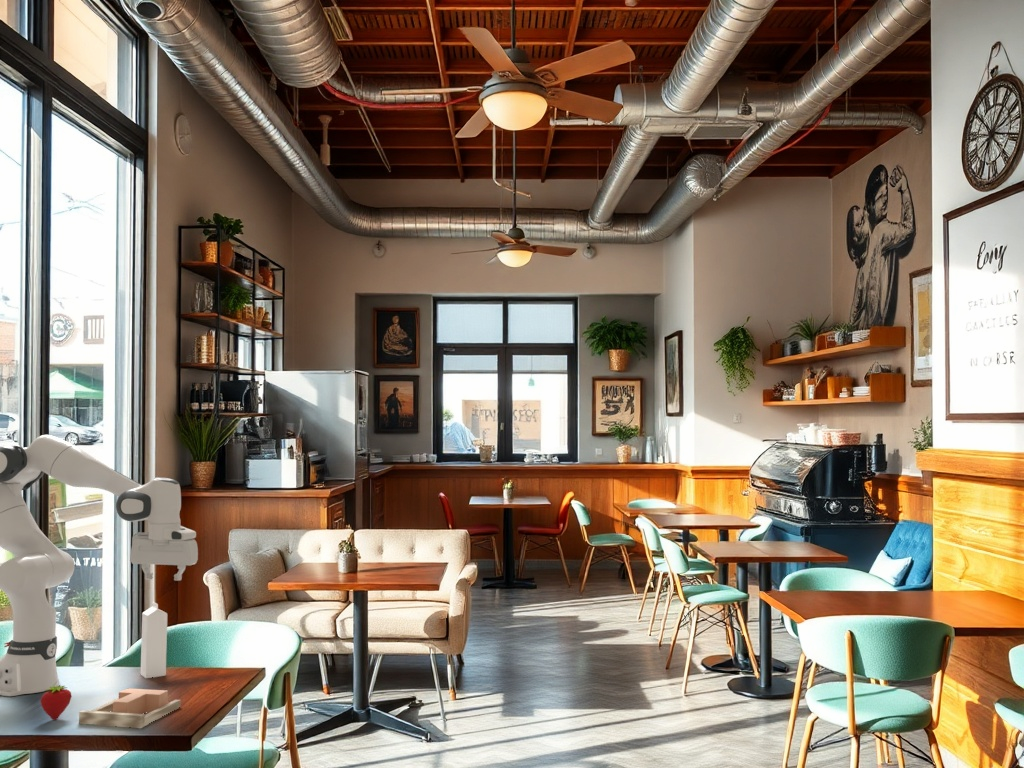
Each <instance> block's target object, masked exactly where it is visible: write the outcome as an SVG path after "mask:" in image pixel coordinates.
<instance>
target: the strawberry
mask: <svg viewBox="0 0 1024 768" xmlns="http://www.w3.org/2000/svg"><path fill="white" fill-rule="evenodd" d="M55 684H56V683H55ZM55 684H54V685H55ZM50 688H51V689H47V690H45V691H44V692H45V693H43V695H41V698H40V704H41V708H42V709H43V710H44V713H45V714H47V716H49V717H50V719H51V720H54V721H55V720H58V719H59V717H60V716H61V715H62V714H63V712H64V711H66V709H67V707H68V706H69V704H70V702H71V699H72V691H70V690H69V689H67V688H68V687H65V685H61V686H60V685H59V686H56V687H55V686H54V687H50Z"/></svg>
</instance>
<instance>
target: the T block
mask: <svg viewBox="0 0 1024 768" xmlns="http://www.w3.org/2000/svg"><path fill="white" fill-rule="evenodd" d="M118 698H119V699H118ZM118 698H117V699H118V700H116V701H114V703H113V711H112V712H117V713H133V714H143V713H145V714H148V713H150V712H152V711H154V710H156V709H158V708H160V707H162V706H164V705H166V704H168V703H169V700H168V699H169V690H163V689H145V688H144V689H143V688H130V687H129V688H126V689H123V690H121V691H119V692H118ZM146 712H147V713H146Z"/></svg>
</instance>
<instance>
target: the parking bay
mask: <svg viewBox="0 0 1024 768" xmlns="http://www.w3.org/2000/svg"><path fill="white" fill-rule="evenodd" d="M118 699H119V697H118V698H116V699H113V700H111V701H109V702H107V703H105V704H102V705H100V706H98V707H96V708H94V709H92V710H86V709H85V710H80V711H79V712H78V725H86V724H95V725H94V726H101V725H106V726H105V727H115V726H117V728H118V727H119V728H129V727H131V728H132V729H142V728H144V727H146V726H148V725H150V724H152V723H154V722H155V720H156V721H157V720H159V719H162V718H163V717H165V716H167V715H168V713H169V714H171V713H173V712H174V710H175V711H176V710H178V709H180V708H181V699H174V700H172V701H170V702H168V704H166V705H164V706H162V707H160V708H158V709H156V710H154V711H152V712H150V713H145V714H133V713H117V712H113V711H112V710H113V703H114V701H116V700H118ZM179 707H180V708H179ZM110 711H111V712H110ZM172 711H173V712H172ZM170 712H171V713H170ZM166 714H167V715H166ZM164 715H165V716H164ZM162 716H163V717H162ZM153 721H154V722H153ZM151 722H152V723H151ZM149 723H150V724H149Z"/></svg>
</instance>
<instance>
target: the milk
mask: <svg viewBox="0 0 1024 768" xmlns="http://www.w3.org/2000/svg"><path fill="white" fill-rule="evenodd" d="M151 603H152V605H151V606H150V607H149V608H148V609H146V610H145V611H143V612H142V613H141V641H140V642H141V643H140V644H141V645H140V646H141V647H140V648H141V650H140V652H141V653H140V675H141V677H144V678H145V679H151V678H152V677H153V678H158V677H159V678H160V677H165V676H166V675H167V648H168V647H167V645H168V644H167V642H168V641H167V640H168V639H167V638H168V637H167V636H168V613H167V612H165V611H163V610H161V609H159V604H158V603H157V602H155V601H152V602H151Z"/></svg>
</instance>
